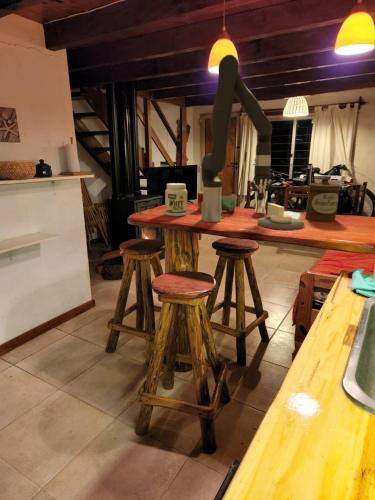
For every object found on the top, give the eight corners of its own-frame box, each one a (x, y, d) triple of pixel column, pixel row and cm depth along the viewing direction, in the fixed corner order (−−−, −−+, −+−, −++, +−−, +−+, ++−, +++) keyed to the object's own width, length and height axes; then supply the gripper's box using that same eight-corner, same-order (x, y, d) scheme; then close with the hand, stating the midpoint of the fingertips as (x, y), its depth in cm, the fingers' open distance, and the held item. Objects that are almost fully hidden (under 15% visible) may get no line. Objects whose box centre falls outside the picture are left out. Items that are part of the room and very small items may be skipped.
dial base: (271, 230, 143) (272, 227, 143) (250, 220, 164) (250, 217, 163) (313, 228, 149) (314, 224, 148) (287, 218, 169) (288, 215, 169)
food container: (229, 214, 179) (230, 196, 176) (220, 213, 183) (220, 196, 180) (240, 211, 188) (241, 194, 185) (231, 210, 192) (231, 193, 189)
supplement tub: (166, 216, 173) (165, 185, 168) (164, 212, 184) (164, 183, 179) (188, 216, 174) (188, 185, 169) (185, 212, 186) (185, 182, 181)
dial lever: (295, 222, 152) (297, 208, 150) (277, 223, 150) (278, 209, 148) (276, 215, 169) (277, 202, 167) (259, 216, 166) (260, 203, 164)
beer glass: (259, 213, 182) (261, 187, 177) (251, 211, 188) (253, 186, 183) (268, 212, 185) (270, 186, 180) (260, 210, 191) (262, 185, 186)
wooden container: (312, 221, 162) (317, 178, 156) (301, 216, 177) (305, 175, 170) (340, 221, 163) (347, 178, 157) (327, 215, 177) (332, 175, 171)
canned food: (206, 212, 186) (207, 193, 183) (194, 210, 190) (195, 192, 187) (212, 210, 193) (213, 191, 189) (201, 208, 197) (201, 190, 193)
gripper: (253, 165, 150) (252, 202, 155) (278, 164, 153) (276, 200, 159) (246, 164, 157) (245, 199, 162) (270, 163, 160) (268, 198, 166)
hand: (260, 200), depth 161 cm, fingers closed
